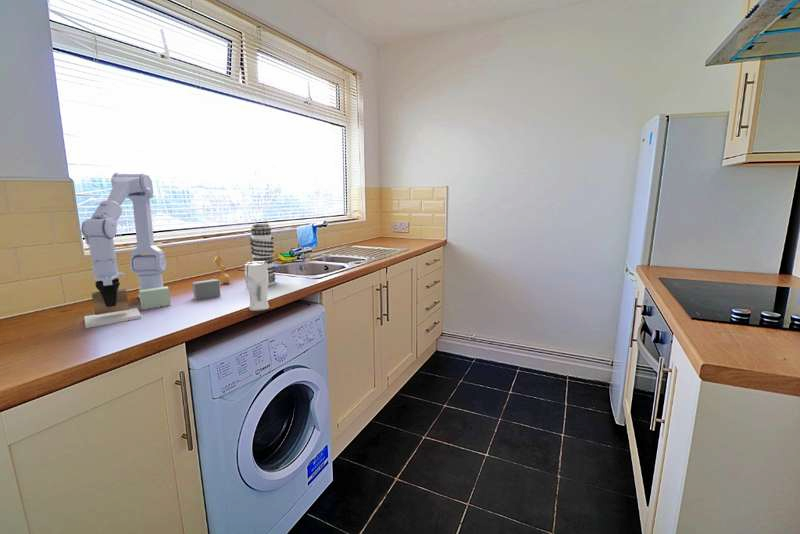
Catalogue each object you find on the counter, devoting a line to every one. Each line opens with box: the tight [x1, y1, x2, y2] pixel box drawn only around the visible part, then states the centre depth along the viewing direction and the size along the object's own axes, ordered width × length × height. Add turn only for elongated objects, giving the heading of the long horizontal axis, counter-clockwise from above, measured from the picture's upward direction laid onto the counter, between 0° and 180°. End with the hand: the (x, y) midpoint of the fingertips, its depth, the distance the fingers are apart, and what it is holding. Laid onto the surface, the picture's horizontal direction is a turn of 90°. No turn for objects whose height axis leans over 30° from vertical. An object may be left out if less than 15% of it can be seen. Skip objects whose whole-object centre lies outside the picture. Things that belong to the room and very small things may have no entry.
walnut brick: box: [91, 288, 130, 315], centre depth 112 cm, size 4×8×6 cm, turn 129°
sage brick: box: [138, 285, 172, 310], centre depth 125 cm, size 4×8×6 cm, turn 131°
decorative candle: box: [249, 222, 276, 286], centre depth 155 cm, size 9×9×25 cm
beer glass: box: [244, 261, 270, 312], centre depth 121 cm, size 7×7×15 cm
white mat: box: [84, 307, 142, 329], centre depth 113 cm, size 10×13×1 cm
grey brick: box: [191, 278, 221, 301], centre depth 136 cm, size 4×8×6 cm, turn 131°
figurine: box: [212, 254, 232, 285], centre depth 157 cm, size 8×6×12 cm
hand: (111, 304), depth 112 cm, fingers closed on walnut brick, 3 cm apart
